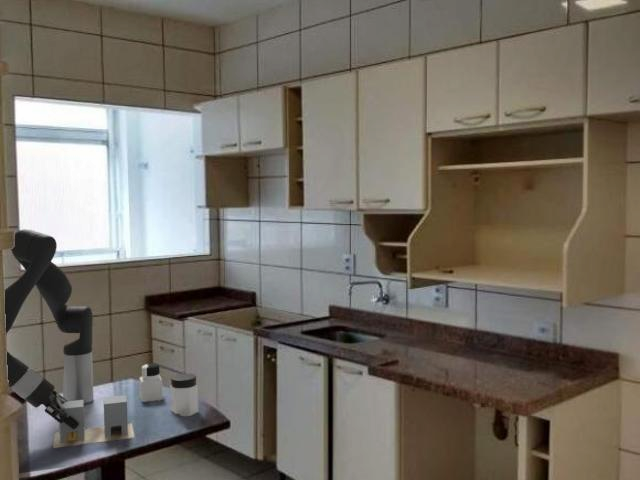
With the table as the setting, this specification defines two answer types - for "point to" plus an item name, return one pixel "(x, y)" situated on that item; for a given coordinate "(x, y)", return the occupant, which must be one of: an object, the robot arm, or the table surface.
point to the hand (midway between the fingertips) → (77, 421)
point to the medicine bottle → (151, 383)
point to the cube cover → (76, 412)
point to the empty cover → (115, 414)
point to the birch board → (95, 436)
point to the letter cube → (72, 435)
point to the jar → (184, 394)
